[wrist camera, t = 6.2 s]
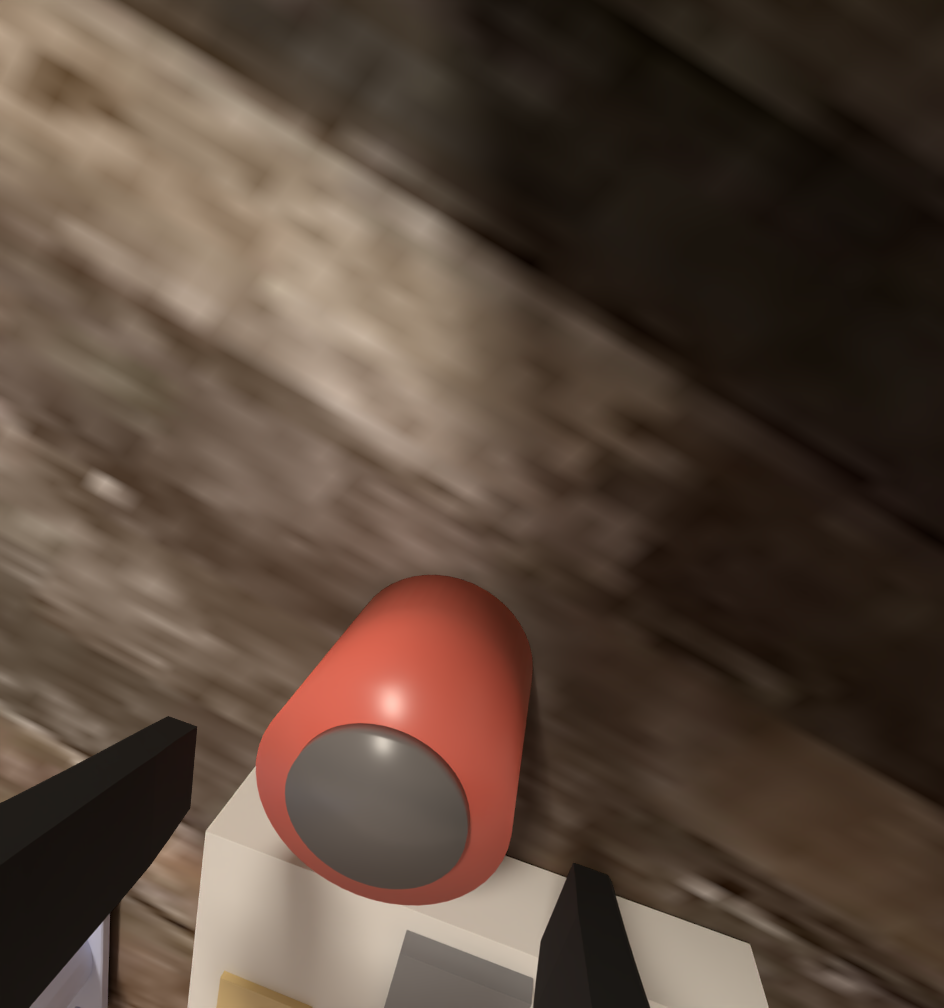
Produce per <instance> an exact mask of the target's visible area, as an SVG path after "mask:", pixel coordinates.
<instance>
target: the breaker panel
mask: <svg viewBox="0 0 944 1008" xmlns="http://www.w3.org/2000/svg"><path fill="white" fill-rule="evenodd" d="M566 879H567V878H566V877H563V876H560V875H558V874H555V873H552V872H549V871H547V870H544V869H541V868H538V867H536V866H533V865H530V864H527V863H524V862H522V861H519V860H516V859H513V858H511V857H508V856H504V859H503V861H502V862H501V864H500V865H499V867H498V868H497V870H496V871H495V872H494V873H493V874H492V875H491V876H490V877H489V879H488V880H487V881H486V882H484V883H483V884H482V885H480V886H479V887H478V888H476V889H475V890H473V891H471V892H469V893H467V894H465V895H463V896H461V897H459V898H456V899H453V900H450V901H447V902H442V903H437V904H431V905H420V906H414V905H397V904H389V903H384V902H380V901H375V900H371V899H368V898H365V897H362V896H359V895H356V894H354V893H352V892H349V891H347V890H345V889H342V888H341V887H339V886H337V885H335V884H333V883H331V882H330V881H328V880H326V879H325V878H323V877H322V876H320V875H319V874H317V873H316V872H314V871H313V870H312V869H311V868H309V867H308V866H307V865H306V864H305V863H303V862H302V861H301V860H300V859H299V858H298V857H297V856H296V855H295V854H294V853H293V852H292V851H291V850H290V849H289V848H288V847H287V845H286V844H285V843H284V842H283V841H282V839H281V838H280V837H279V835H278V834H277V832H276V831H275V829H274V828H273V826H272V824H271V822H270V821H269V819H268V817H267V815H266V813H265V810H264V808H263V805H262V802H261V800H260V796H259V792H258V788H257V780H256V766H255V768H254V769H253V770H252V771H251V773H250V774H249V775H248V777H247V778H246V779H245V781H244V782H243V783H242V784H241V786H240V787H239V788H238V790H237V791H236V792H235V794H234V795H233V796H232V798H231V799H230V800H229V801H228V803H227V804H226V805H225V807H224V808H223V809H222V811H221V812H220V813H219V814H218V816H217V817H216V818H215V820H214V821H213V822H212V824H211V825H210V826H209V827H208V829H207V830H206V833H205V843H204V853H203V863H202V872H201V882H200V892H199V902H198V911H197V921H196V931H195V941H194V950H193V960H192V970H191V980H190V989H189V999H188V1008H533V1002H534V993H535V983H536V975H537V966H538V958H539V950H540V941H541V939H542V936H543V934H544V932H545V929H546V927H547V924H548V922H549V920H550V917H551V915H552V912H553V910H554V907H555V905H556V903H557V900H558V898H559V895H560V893H561V891H562V888H563V886H564V883H565V881H566ZM616 898H617V902H618V906H619V909H620V913H621V916H622V920H623V923H624V926H625V930H626V933H627V936H628V940H629V943H630V946H631V950H632V953H633V956H634V959H635V962H636V966H637V969H638V972H639V975H640V978H641V981H642V984H643V987H644V990H645V993H646V996H647V999H648V1002H649V1005H650V1008H769V1007H768V1004H767V1000H766V997H765V993H764V990H763V987H762V983H761V980H760V977H759V973H758V970H757V966H756V963H755V960H754V956H753V953H752V949H751V946H750V944H748V943H745V942H743V941H740V940H737V939H734V938H732V937H729V936H726V935H723V934H721V933H718V932H715V931H712V930H710V929H707V928H704V927H701V926H699V925H696V924H693V923H690V922H687V921H685V920H682V919H679V918H676V917H674V916H671V915H668V914H665V913H663V912H660V911H657V910H654V909H652V908H649V907H646V906H643V905H641V904H638V903H635V902H632V901H629V900H627V899H624V898H621V897H618V896H616Z"/></svg>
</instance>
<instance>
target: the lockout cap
mask: <svg viewBox="0 0 944 1008" xmlns="http://www.w3.org/2000/svg"><path fill="white" fill-rule="evenodd" d="M532 673H533V661H532V654H531V649H530V645H529V642H528V639H527V637H526V634H525V632H524V630H523V629H522V627H521V625H520V623H519V622H518V620H517V619H516V618H515V616H514V615H513V613H512V612H511V611H510V610H509V609H508V608H507V607H506V606H505V605H504V604H503V603H502V602H501V601H500V600H498V599H497V598H496V597H495V596H493V595H492V594H490V593H489V592H487V591H486V590H484V589H482V588H480V587H478V586H476V585H475V584H472V583H470V582H467V581H464V580H462V579H458V578H453V577H449V576H441V575H422V576H414V577H410V578H406V579H403V580H400V581H398V582H395V583H393V584H391V585H389V586H388V587H386V588H384V589H383V590H381V591H380V592H379V593H378V594H377V595H375V596H374V597H373V598H372V600H371V601H370V602H369V603H368V604H367V605H366V607H365V608H364V609H363V610H362V611H361V613H360V614H359V615H358V616H357V618H356V619H355V620H354V621H353V622H352V624H351V625H350V626H349V627H348V629H347V630H346V631H345V632H344V633H343V635H342V636H341V637H340V638H339V640H338V641H337V642H336V643H335V644H334V646H333V647H332V648H331V649H330V651H329V652H328V653H327V654H326V655H325V657H324V658H323V659H322V660H321V662H320V663H319V664H318V665H317V666H316V668H315V669H314V670H313V671H312V673H311V674H310V675H309V676H308V677H307V679H306V680H305V681H304V682H303V684H302V685H301V686H300V687H299V689H298V690H297V691H296V692H295V693H294V695H293V696H292V697H291V698H290V700H289V701H288V702H287V703H286V704H285V706H284V707H283V708H282V709H281V711H280V712H279V713H278V714H277V715H276V717H275V718H274V719H273V720H272V722H271V723H270V725H269V726H268V728H267V729H266V731H265V733H264V735H263V737H262V740H261V742H260V745H259V749H258V753H257V758H256V780H257V788H258V792H259V796H260V800H261V802H262V805H263V808H264V810H265V813H266V815H267V817H268V819H269V821H270V822H271V824H272V826H273V828H274V829H275V831H276V832H277V834H278V835H279V837H280V838H281V839H282V841H283V842H284V843H285V844H286V845H287V847H288V848H289V849H290V850H291V851H292V852H293V853H294V854H295V855H296V856H297V857H298V858H299V859H300V860H301V861H302V862H303V863H305V864H306V865H307V866H308V867H309V868H311V869H312V870H313V871H314V872H316V873H317V874H319V875H320V876H322V877H323V878H325V879H326V880H328V881H330V882H331V883H333V884H335V885H337V886H339V887H341V888H342V889H345V890H347V891H349V892H352V893H354V894H356V895H359V896H362V897H365V898H368V899H371V900H375V901H380V902H384V903H389V904H397V905H414V906H420V905H431V904H437V903H442V902H447V901H450V900H453V899H456V898H459V897H461V896H463V895H465V894H467V893H469V892H471V891H473V890H475V889H476V888H478V887H479V886H480V885H482V884H483V883H484V882H486V881H487V880H488V879H489V877H490V876H491V875H492V874H493V873H494V872H495V871H496V870H497V868H498V867H499V865H500V864H501V862H502V861H503V859H504V856H505V854H506V852H507V850H508V847H509V843H510V839H511V835H512V827H513V820H514V812H515V804H516V797H517V789H518V782H519V774H520V766H521V759H522V751H523V743H524V736H525V728H526V721H527V713H528V705H529V698H530V690H531V682H532Z"/></svg>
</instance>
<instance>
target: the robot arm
mask: <svg viewBox="0 0 944 1008" xmlns="http://www.w3.org/2000/svg"><path fill="white" fill-rule="evenodd" d="M196 734H197V726H194V725H191V724H189V723H186V722H183V721H180V720H177V719H175V718H172V717H169V716H168V717H166V718H164V719H162V720H160V721H158V722H156V723H154V724H152V725H150V726H148V727H146V728H144V729H142V730H140V731H138V732H137V733H135V734H133V735H131V736H129V737H127V738H125V739H123V740H122V741H120V742H118V743H116V744H114V745H112V746H110V747H108V748H107V749H105V750H103V751H101V752H99V753H97V754H95V755H93V756H92V757H90V758H88V759H86V760H84V761H82V762H80V763H78V764H76V765H74V766H73V767H71V768H69V769H67V770H65V771H63V772H61V773H59V774H57V775H55V776H53V777H51V778H49V779H47V780H45V781H43V782H41V783H39V784H37V785H36V786H34V787H32V788H30V789H28V790H26V791H24V792H22V793H20V794H18V795H16V796H14V797H12V798H10V799H8V800H6V801H4V802H2V803H0V1008H108V972H109V934H110V913H111V912H112V910H113V909H114V908H115V907H116V906H117V904H118V903H119V902H120V901H121V900H122V898H123V897H124V896H125V895H126V894H127V893H128V891H129V890H130V889H131V888H132V887H133V885H134V884H135V883H136V882H137V881H138V879H139V878H140V877H141V876H142V875H143V873H144V872H145V871H146V870H147V869H148V867H149V866H150V865H151V864H152V862H153V861H154V859H155V858H156V857H157V855H158V854H159V852H160V851H161V850H162V848H163V847H164V845H165V844H166V843H167V841H168V840H169V838H170V837H171V835H172V834H173V832H174V831H175V829H176V828H177V826H178V825H179V824H180V822H181V821H182V819H183V818H184V816H185V815H186V813H187V812H188V810H189V809H190V804H191V793H192V781H193V769H194V757H195V745H196ZM533 1008H650V1005H649V1002H648V999H647V996H646V993H645V990H644V987H643V984H642V981H641V978H640V975H639V972H638V969H637V966H636V962H635V959H634V956H633V953H632V950H631V946H630V943H629V940H628V936H627V933H626V930H625V926H624V923H623V920H622V916H621V913H620V909H619V906H618V902H617V898H616V895H615V891H614V887H613V884H612V881H611V879H610V878H609V876H608V875H606V874H604V873H601V872H598V871H595V870H593V869H590V868H587V867H584V866H582V865H579V864H576V863H573V864H572V867H571V869H570V871H569V874H568V876H567V879H566V881H565V883H564V886H563V888H562V891H561V893H560V895H559V898H558V900H557V903H556V905H555V907H554V910H553V912H552V915H551V917H550V920H549V922H548V924H547V927H546V929H545V932H544V934H543V936H542V939H541V941H540V950H539V958H538V966H537V975H536V983H535V993H534V1002H533Z"/></svg>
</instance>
